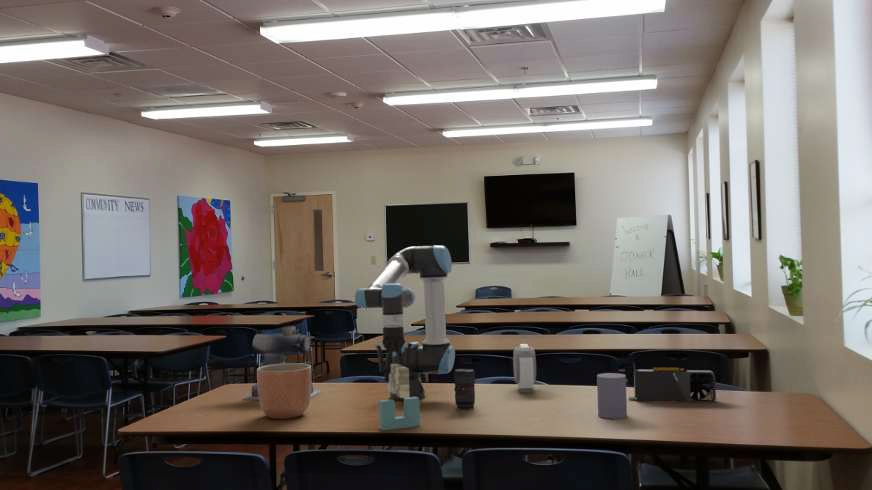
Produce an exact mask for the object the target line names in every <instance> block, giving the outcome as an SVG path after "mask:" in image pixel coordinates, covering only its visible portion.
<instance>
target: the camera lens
mask: <svg viewBox="0 0 872 490" xmlns="http://www.w3.org/2000/svg"><path fill="white" fill-rule="evenodd" d="M453 375H454V400H455V401H454V402H455V405H456V409H458V410H463V409H465V410H472V409H474V407H475V400H476V392H475V391H476V390H475V389H476V387H475V384H476V383H475V382H476V376H475V375H476V374H475V370H474V369H470V368H458V369H455V370H454V374H453Z"/></svg>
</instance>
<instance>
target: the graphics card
mask: <svg viewBox="0 0 872 490" xmlns="http://www.w3.org/2000/svg"><path fill="white" fill-rule="evenodd" d="M635 365H636V364H635V363H634V362H633V378H634V379H633V381H634V382H633V383H634V387H633V389H634V396H632V397H628V400H629V401H630V400H635V399H636V401H638V402H653V401H675V402H674V403H706V404H707V403H715V402H716V399H717V390H716V389H717V388H716V387H717V385H716V375H715V373H714V372H713V371H712V370H709V369H708V370H705V369H703V370H699V369H698V370H697V369H695V370H693V369H692V370H690V369H689V370H688V369H686V370H685V368H680V367H652V369H636V367H635Z"/></svg>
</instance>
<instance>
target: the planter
mask: <svg viewBox="0 0 872 490" xmlns="http://www.w3.org/2000/svg"><path fill="white" fill-rule="evenodd" d="M311 381H312V365H311V364H308V363H297V362H296V363H293V362H292V363H291V362H290V363H288V362H287V363H286V362H285V364H274V365H267V366H259V367H258V368H256V382H257V383H256V384H258V395H259V400H258V402H259V405H260V409H261V411H262V413H263V414H264V415H266V416H267V418H270V419H275V420H289V419H294V418H298V417H301V416H302V415H304V414H305V413H306V411H307V410H308V409H309V406H310V402H311V399H310V396H311Z"/></svg>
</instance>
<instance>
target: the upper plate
mask: <svg viewBox="0 0 872 490" xmlns="http://www.w3.org/2000/svg"><path fill="white" fill-rule="evenodd" d="M389 373H391V382H392V392H389V394H390V393H392V394H396V396H398V397H400V398H407V397H409V368H406V367H404V366H401V365H399V364H393V363H390V371H389Z"/></svg>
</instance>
